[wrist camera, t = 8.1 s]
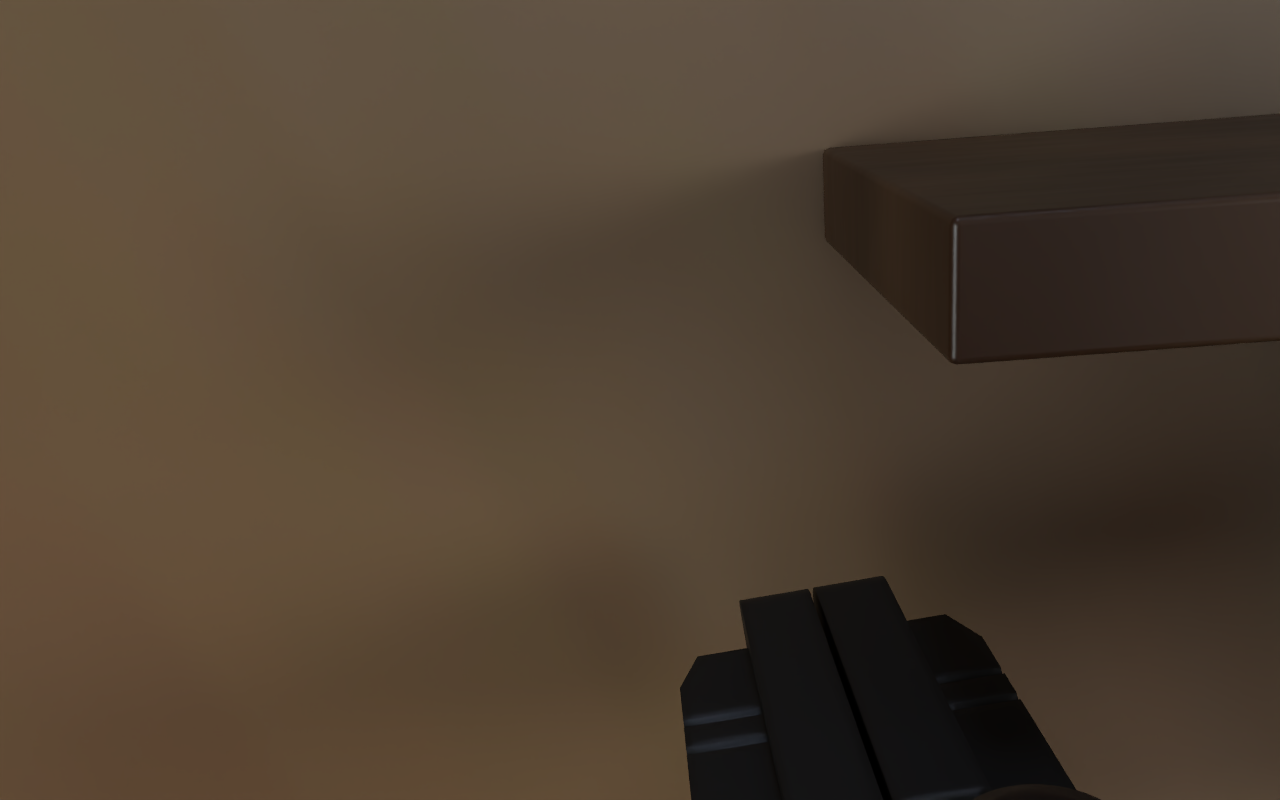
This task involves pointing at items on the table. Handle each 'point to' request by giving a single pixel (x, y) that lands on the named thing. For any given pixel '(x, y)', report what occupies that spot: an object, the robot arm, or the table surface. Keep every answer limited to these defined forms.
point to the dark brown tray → (1069, 236)
